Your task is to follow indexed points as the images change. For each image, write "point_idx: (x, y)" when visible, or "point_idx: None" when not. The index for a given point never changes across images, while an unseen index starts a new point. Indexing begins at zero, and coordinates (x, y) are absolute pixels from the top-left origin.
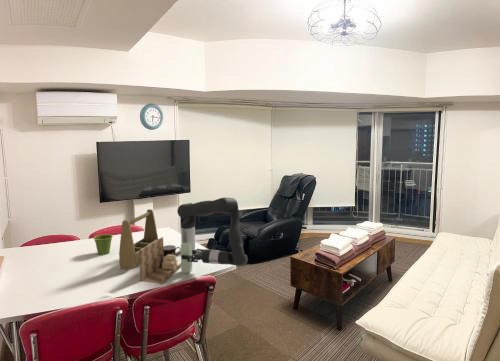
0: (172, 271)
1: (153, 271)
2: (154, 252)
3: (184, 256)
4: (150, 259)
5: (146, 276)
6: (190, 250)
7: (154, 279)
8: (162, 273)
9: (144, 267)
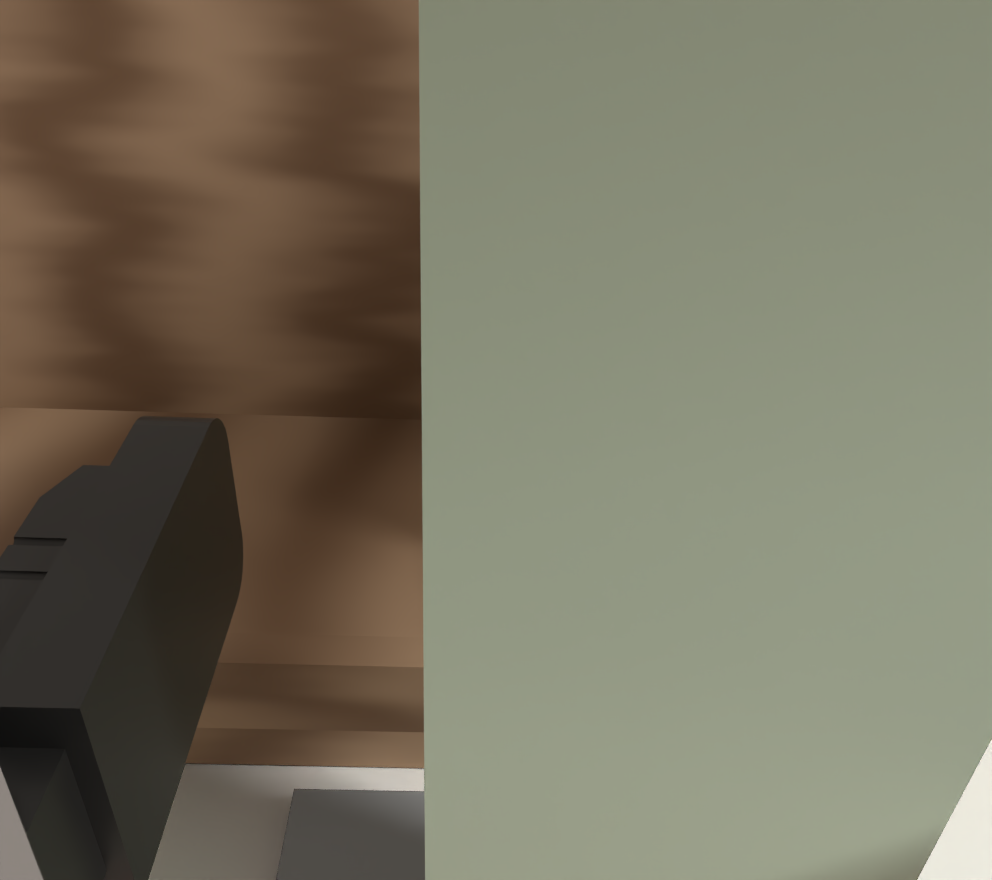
0: (250, 664)
1: (351, 402)
2: (405, 45)
3: (37, 565)
4: (232, 137)
5: (111, 388)
6: (742, 521)
7: (22, 514)
8: (322, 533)
9: (11, 205)
